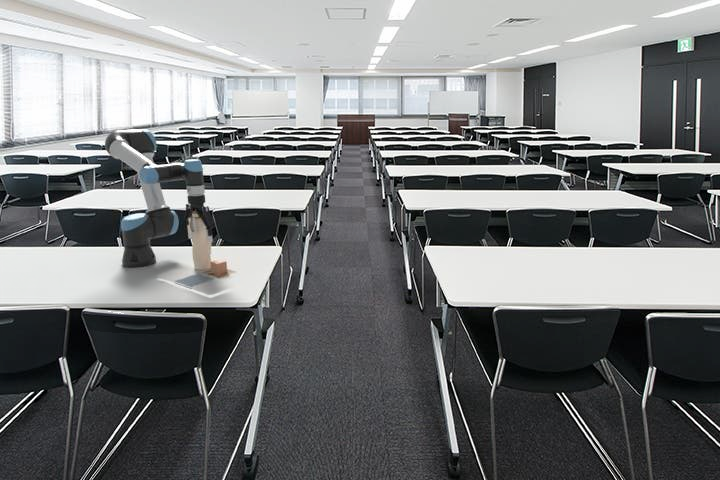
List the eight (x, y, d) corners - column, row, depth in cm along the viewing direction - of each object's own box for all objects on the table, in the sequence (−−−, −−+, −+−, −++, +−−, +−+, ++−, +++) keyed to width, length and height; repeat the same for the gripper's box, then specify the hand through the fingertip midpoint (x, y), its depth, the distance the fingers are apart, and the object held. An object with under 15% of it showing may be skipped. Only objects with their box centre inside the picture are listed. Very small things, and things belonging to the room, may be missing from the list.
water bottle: (206, 273, 236) (201, 213, 229) (188, 272, 238) (182, 212, 231) (217, 266, 246) (212, 208, 239) (199, 265, 248) (194, 207, 240)
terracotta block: (211, 272, 234) (210, 261, 233) (220, 269, 238) (219, 259, 237) (218, 274, 231) (217, 263, 230) (227, 271, 235) (226, 261, 234)
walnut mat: (201, 274, 235) (201, 272, 234) (220, 268, 242) (219, 266, 242) (218, 279, 227) (218, 277, 227) (236, 273, 235) (236, 271, 235)
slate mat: (174, 283, 224) (174, 281, 224) (198, 275, 233) (198, 273, 233) (191, 289, 217) (191, 286, 217) (214, 281, 226) (214, 278, 226)
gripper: (172, 193, 237) (177, 238, 243) (206, 198, 222) (210, 246, 228) (186, 190, 243) (191, 234, 248) (220, 196, 228) (224, 242, 234)
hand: (200, 240), depth 238 cm, fingers open, 13 cm apart
